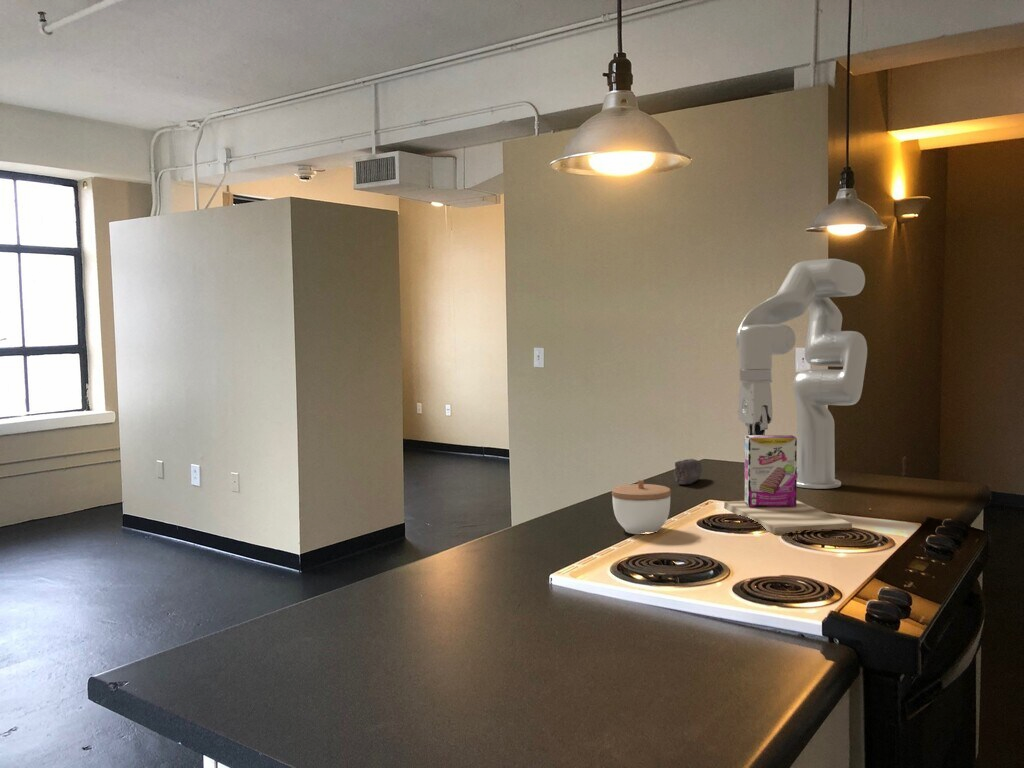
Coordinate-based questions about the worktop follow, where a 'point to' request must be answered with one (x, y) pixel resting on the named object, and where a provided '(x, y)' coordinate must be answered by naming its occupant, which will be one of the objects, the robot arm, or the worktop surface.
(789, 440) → the candy bar box
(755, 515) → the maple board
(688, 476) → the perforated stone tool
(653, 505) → the lidded bowl
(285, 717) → the worktop surface
